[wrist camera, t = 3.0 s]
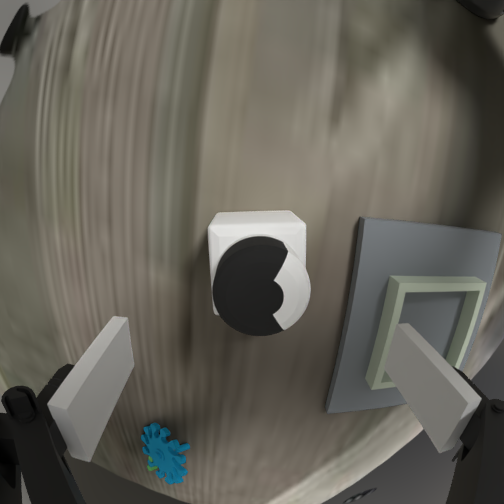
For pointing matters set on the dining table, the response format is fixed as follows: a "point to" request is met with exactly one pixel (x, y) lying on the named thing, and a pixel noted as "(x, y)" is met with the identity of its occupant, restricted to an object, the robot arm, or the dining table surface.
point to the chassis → (409, 302)
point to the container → (258, 270)
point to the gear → (164, 454)
